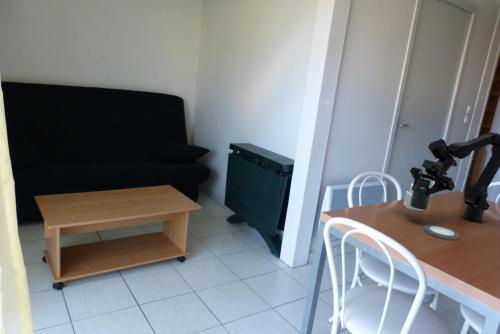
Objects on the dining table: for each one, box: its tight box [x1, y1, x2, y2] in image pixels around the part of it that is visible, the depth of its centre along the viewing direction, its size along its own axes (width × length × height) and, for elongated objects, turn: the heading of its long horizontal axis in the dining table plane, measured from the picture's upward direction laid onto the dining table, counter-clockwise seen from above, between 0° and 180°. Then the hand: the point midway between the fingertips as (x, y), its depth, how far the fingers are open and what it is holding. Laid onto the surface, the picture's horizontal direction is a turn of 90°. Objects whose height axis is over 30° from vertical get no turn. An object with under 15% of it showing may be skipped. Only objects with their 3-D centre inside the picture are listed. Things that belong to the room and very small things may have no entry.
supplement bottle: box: [410, 178, 431, 211], centre depth 154 cm, size 7×7×12 cm
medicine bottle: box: [402, 182, 424, 212], centre depth 175 cm, size 7×7×12 cm
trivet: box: [423, 224, 461, 241], centre depth 146 cm, size 13×13×1 cm
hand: (419, 192), depth 153 cm, fingers closed on supplement bottle, 7 cm apart
